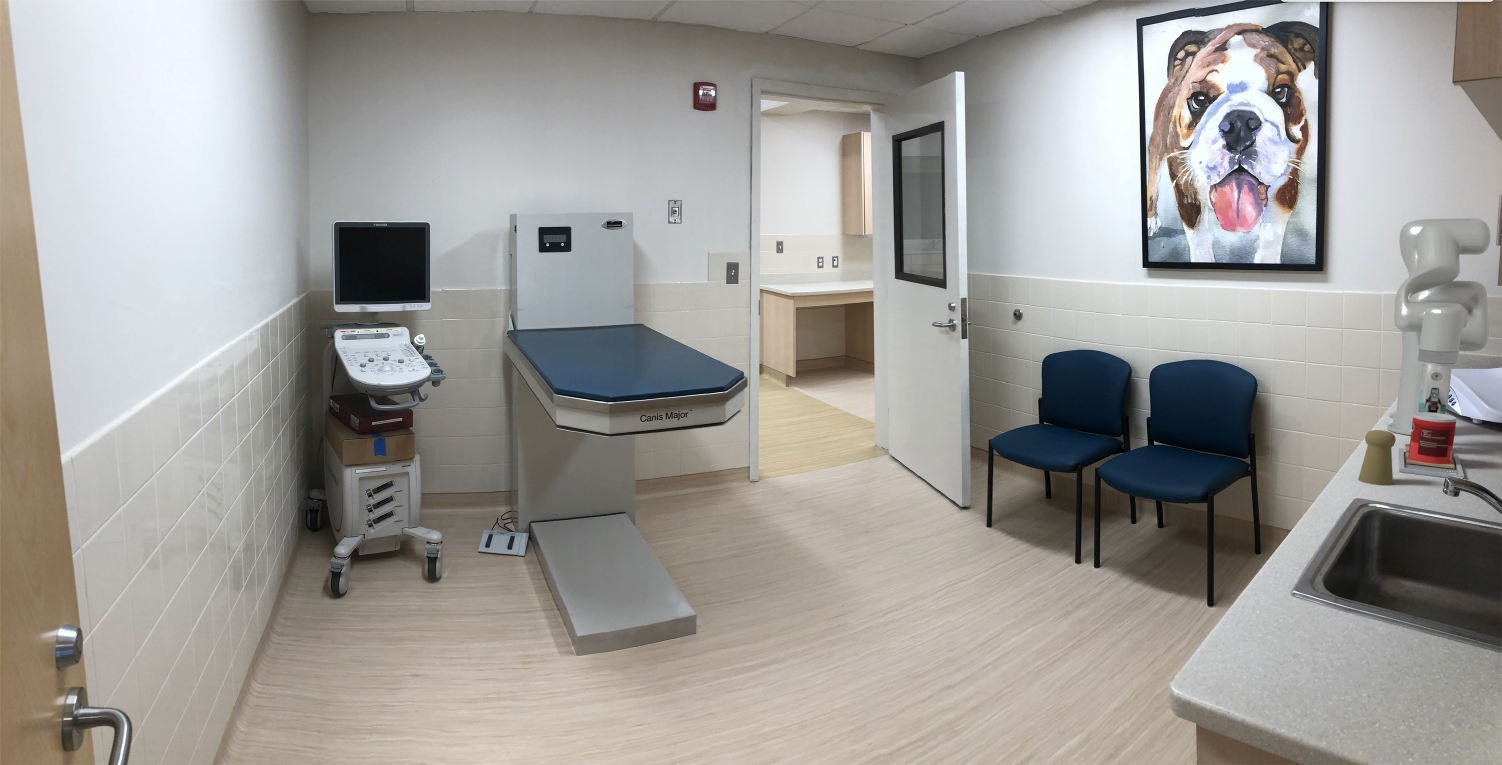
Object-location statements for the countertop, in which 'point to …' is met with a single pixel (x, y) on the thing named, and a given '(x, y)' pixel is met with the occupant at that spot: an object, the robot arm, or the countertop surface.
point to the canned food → (1432, 438)
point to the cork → (1378, 458)
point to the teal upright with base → (1408, 460)
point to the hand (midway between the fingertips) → (1429, 426)
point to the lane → (1429, 467)
